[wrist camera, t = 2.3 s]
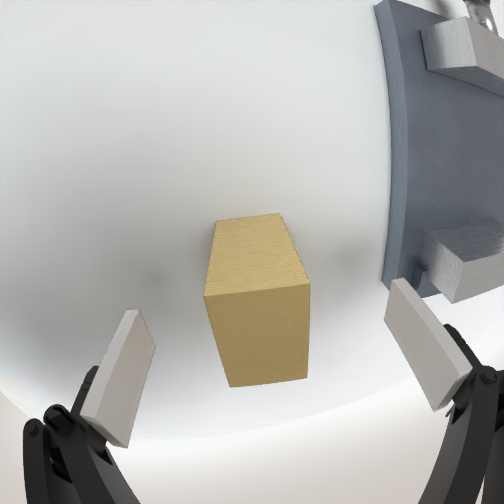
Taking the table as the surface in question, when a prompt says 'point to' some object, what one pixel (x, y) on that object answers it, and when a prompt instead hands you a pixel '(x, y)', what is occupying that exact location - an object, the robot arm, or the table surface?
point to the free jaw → (467, 48)
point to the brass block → (258, 301)
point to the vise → (440, 168)
